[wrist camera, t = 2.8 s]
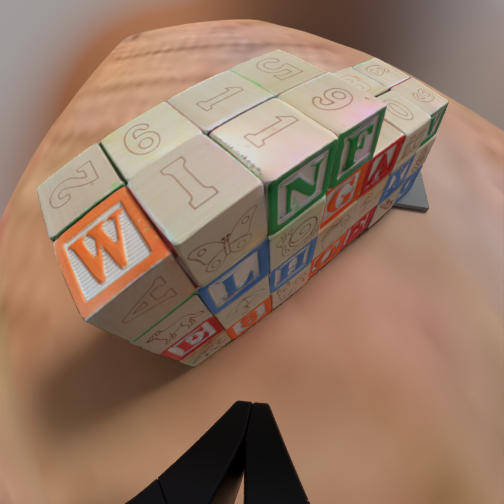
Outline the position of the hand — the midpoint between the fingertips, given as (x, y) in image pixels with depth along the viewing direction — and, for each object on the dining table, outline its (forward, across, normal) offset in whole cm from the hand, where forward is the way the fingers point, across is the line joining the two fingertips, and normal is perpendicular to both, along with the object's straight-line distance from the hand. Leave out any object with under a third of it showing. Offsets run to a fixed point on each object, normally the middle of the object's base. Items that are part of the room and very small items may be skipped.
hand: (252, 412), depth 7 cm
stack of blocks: (+15, -1, -1) cm, 15 cm away
